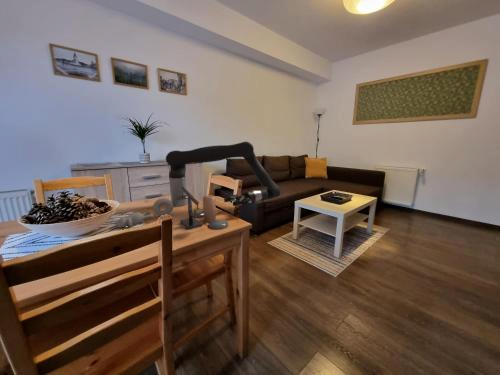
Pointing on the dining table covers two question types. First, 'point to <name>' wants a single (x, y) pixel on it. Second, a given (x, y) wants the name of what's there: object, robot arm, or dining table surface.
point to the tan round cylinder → (209, 208)
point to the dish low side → (218, 224)
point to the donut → (160, 202)
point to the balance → (197, 212)
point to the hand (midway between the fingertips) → (228, 202)
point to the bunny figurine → (133, 219)
